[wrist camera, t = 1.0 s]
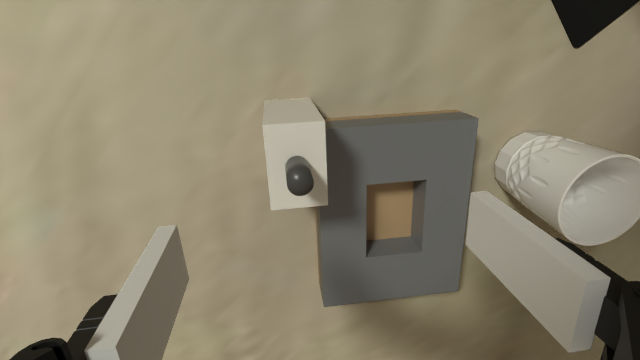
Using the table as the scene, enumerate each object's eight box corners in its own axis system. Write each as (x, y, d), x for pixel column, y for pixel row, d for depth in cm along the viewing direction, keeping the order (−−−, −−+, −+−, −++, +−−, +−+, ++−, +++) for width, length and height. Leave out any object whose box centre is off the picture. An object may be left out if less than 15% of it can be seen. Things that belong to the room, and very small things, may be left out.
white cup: (552, 111, 36) (648, 136, 27) (566, 176, 39) (657, 219, 30) (479, 147, 37) (549, 184, 27) (498, 209, 40) (568, 261, 30)
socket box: (310, 119, 33) (315, 129, 30) (456, 109, 35) (478, 118, 31) (319, 282, 40) (324, 307, 36) (441, 268, 41) (458, 290, 38)
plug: (264, 100, 32) (261, 136, 20) (309, 97, 33) (332, 131, 21) (270, 164, 35) (271, 231, 23) (312, 161, 35) (335, 225, 23)
